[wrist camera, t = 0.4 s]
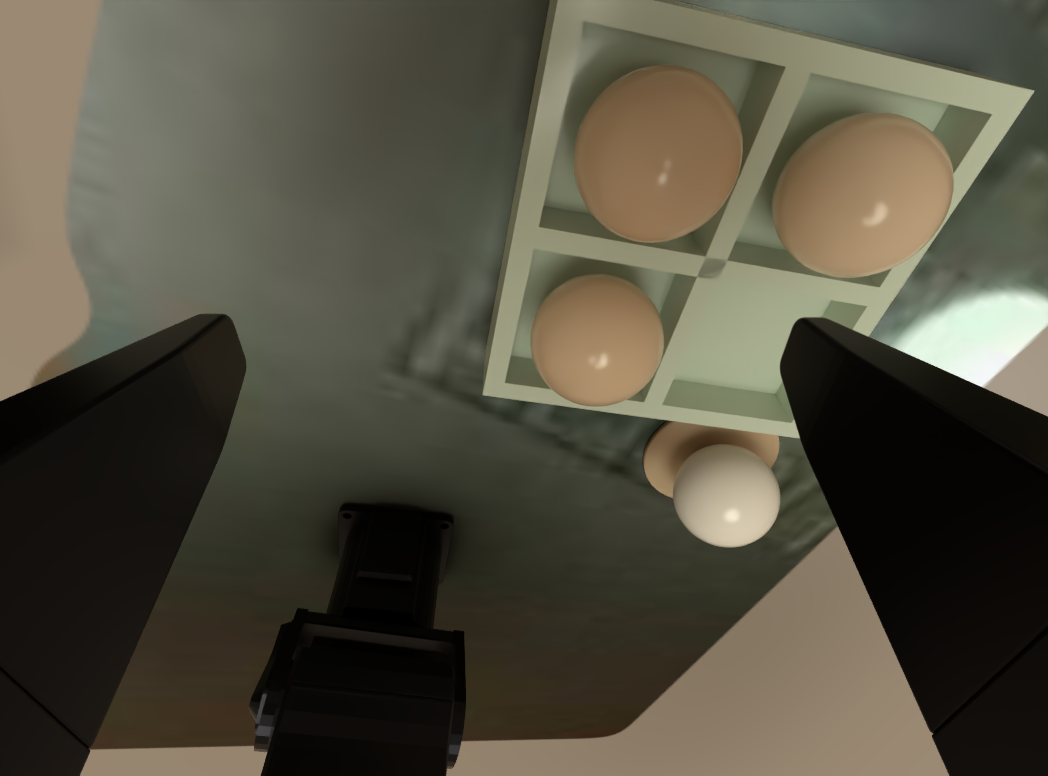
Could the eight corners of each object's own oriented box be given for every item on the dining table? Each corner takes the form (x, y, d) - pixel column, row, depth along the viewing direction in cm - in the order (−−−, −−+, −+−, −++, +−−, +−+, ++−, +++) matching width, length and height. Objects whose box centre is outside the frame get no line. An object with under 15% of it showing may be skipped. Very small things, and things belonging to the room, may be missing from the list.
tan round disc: (742, 502, 33) (744, 508, 33) (626, 488, 32) (627, 494, 32) (800, 412, 29) (804, 418, 28) (669, 394, 28) (671, 399, 28)
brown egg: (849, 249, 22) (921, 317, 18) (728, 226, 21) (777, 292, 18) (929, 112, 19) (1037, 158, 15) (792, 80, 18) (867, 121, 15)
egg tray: (775, 395, 28) (799, 438, 26) (484, 353, 26) (482, 395, 24) (970, 71, 19) (1035, 90, 17) (554, -28, 17) (562, -22, 15)
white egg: (735, 494, 32) (766, 572, 28) (650, 484, 31) (670, 563, 27) (776, 429, 29) (817, 507, 25) (683, 417, 28) (710, 494, 24)
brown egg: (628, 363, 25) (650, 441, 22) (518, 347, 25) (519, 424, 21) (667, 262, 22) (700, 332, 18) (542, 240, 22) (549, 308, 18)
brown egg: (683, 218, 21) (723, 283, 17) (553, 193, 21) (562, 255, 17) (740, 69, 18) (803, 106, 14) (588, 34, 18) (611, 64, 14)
